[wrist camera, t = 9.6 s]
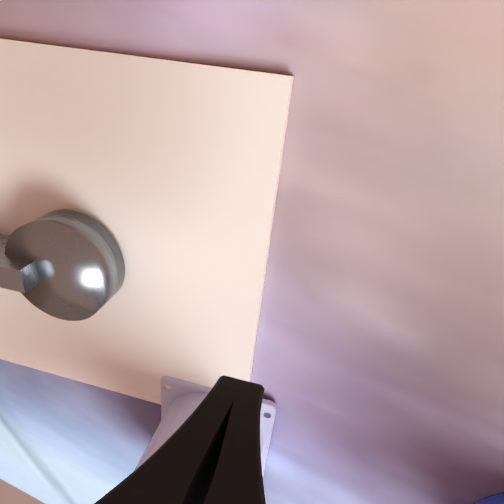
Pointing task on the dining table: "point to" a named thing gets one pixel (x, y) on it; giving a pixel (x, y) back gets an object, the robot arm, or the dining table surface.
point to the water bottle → (493, 499)
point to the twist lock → (62, 264)
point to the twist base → (144, 208)
